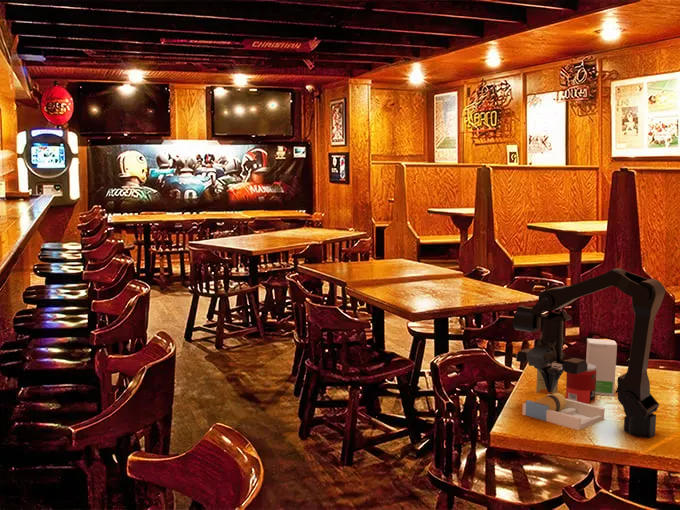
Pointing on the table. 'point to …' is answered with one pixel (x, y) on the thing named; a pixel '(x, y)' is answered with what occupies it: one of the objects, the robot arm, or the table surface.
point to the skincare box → (603, 364)
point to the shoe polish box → (543, 384)
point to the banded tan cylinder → (554, 401)
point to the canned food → (582, 385)
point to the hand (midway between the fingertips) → (550, 392)
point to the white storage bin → (566, 414)
